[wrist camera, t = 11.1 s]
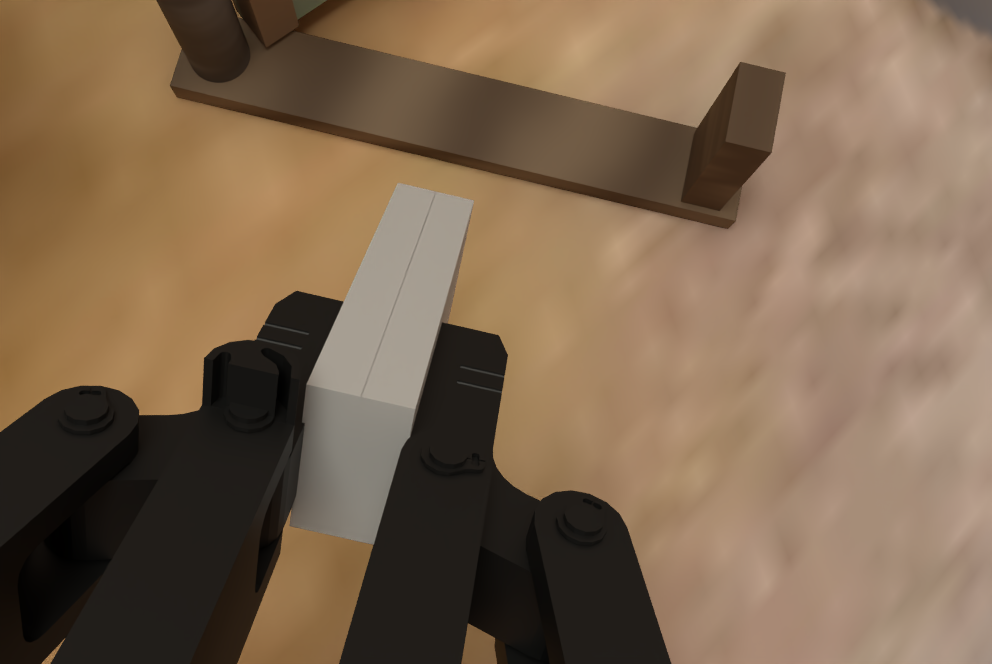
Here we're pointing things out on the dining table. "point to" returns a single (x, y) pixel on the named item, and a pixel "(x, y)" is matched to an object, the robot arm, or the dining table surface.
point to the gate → (274, 16)
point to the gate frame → (482, 115)
